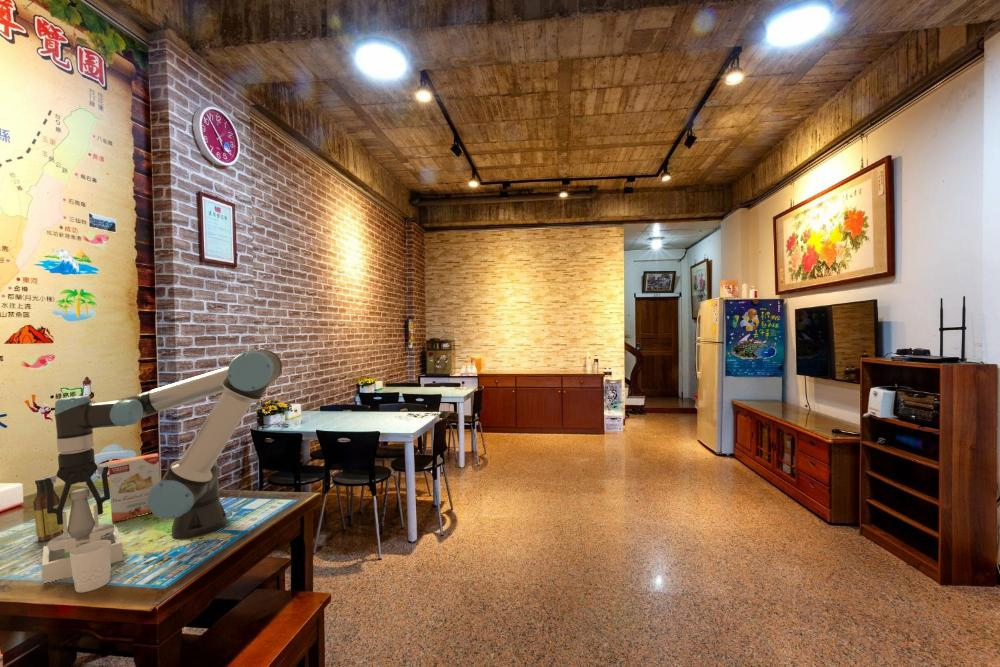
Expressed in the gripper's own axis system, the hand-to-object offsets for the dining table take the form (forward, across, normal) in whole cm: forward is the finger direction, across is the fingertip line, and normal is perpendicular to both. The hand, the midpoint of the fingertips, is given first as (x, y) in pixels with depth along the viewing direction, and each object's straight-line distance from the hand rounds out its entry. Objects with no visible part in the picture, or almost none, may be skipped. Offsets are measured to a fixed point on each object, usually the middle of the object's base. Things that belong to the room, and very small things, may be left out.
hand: (81, 530), depth 128 cm
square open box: (+9, 0, 0) cm, 9 cm away
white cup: (+9, -1, +19) cm, 22 cm away
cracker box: (+9, -15, -31) cm, 36 cm away
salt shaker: (+2, 0, 0) cm, 2 cm away
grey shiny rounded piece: (+7, 0, +2) cm, 8 cm away
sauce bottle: (+9, +7, -32) cm, 34 cm away
